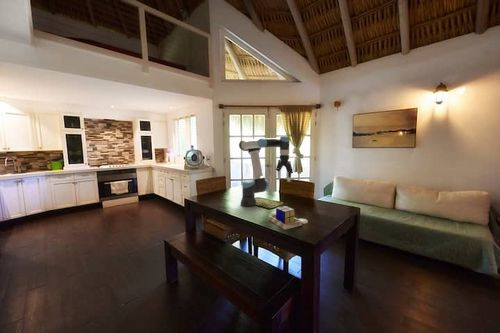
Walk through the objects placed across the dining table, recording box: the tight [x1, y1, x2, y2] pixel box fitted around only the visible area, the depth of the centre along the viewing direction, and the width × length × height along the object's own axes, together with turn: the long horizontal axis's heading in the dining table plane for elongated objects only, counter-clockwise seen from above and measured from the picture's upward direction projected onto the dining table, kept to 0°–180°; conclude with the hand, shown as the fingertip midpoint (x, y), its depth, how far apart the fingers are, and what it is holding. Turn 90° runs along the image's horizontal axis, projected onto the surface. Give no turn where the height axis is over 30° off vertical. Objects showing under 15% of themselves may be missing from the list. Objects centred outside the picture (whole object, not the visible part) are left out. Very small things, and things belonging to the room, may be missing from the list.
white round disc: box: [298, 218, 309, 225], centre depth 160 cm, size 8×8×1 cm
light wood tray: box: [268, 213, 303, 230], centre depth 158 cm, size 20×15×3 cm
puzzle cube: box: [275, 205, 295, 224], centre depth 158 cm, size 10×10×10 cm
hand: (283, 180), depth 175 cm, fingers open, 13 cm apart
